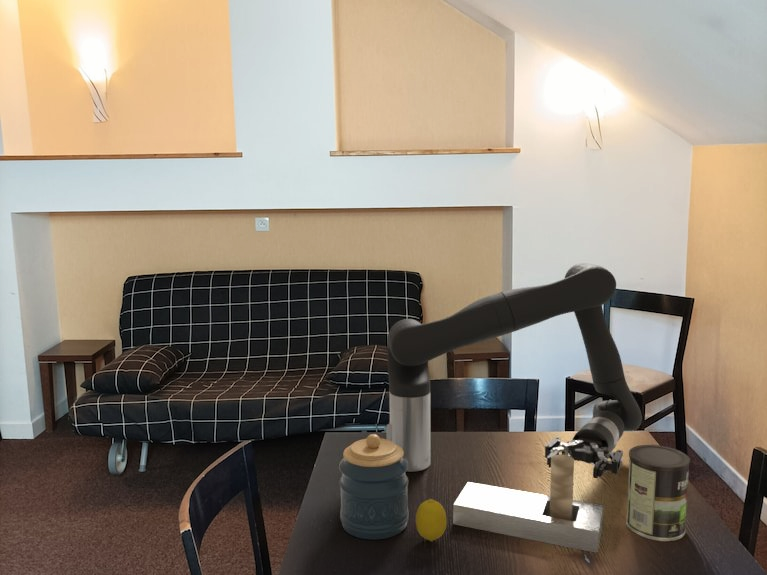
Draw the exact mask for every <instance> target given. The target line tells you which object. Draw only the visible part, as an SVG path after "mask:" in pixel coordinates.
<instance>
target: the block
mask: <svg viewBox="0 0 767 575" xmlns="http://www.w3.org/2000/svg"><path fill="white" fill-rule="evenodd" d="M604 507H605V506H604V504H600V503H593V502H587V501H581V500H574V499H573V506H572V521H569V520H564V519H558V518H553V517H549V516H550V495H547V494H540V493H534V492H529V491H525V490H524V491H522V490H517V489H511V488H507V487H501V486H500V487H499V486H495V485H489V484H483V483H476V482H472V481H471V482H470V481H467V483H466V484H465V486H464V487H463V489H462V490H461V491H460V494H459V495H458V496H457V498H456V499H455V501H454V503H453V507H452V508H453V513H452V518H453V519H452V524H453V525H454V526H455V525H456V526H460V527H464V528H465V527H466V528H470V529H475V530H481V531H485V532H490V533H495V534H501V535H505V536H510V537H515V538H521V539H526V540H530V541H536V542H540V543H545V544H550V545H555V546H560V547H563V548H564V547H566V548H570V549H575V550H581V551H584V552H585V551H586V552H590V553H595V554H598V552H599V548H600V543H601V536H602V531H603V527H604V524H603V523H604Z"/></svg>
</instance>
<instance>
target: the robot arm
mask: <svg viewBox="0 0 767 575" xmlns="http://www.w3.org/2000/svg"><path fill="white" fill-rule="evenodd" d="M616 280H617V279H616V278H615V276H614V275H613V273H611V272H610V271H609V270H608V269H606V268H605V267H603V266H600V265H596V264H591V263H584V262H583V263H576V264H575V265H573V266H571V267H570V268H569V269H568V270H567V272H566V273H565V276H564V278H562V279H560V280H557V281H555V282H551V283H547V284H542V285H533V286H532V285H531V286H525V287H519V288H518V287H517V288H512V289H506V290H503V291H500V292H496V293H494V294H491V295H487V296H485V297H482V298H479V299H478V300H475V301H473V302H472V303H470V304H469V305H467V306H465V307H464V308H461V309H459V311H456V312H455V313H454V314H452V315H450V316H447V317H445V318H442V319H438V320H434V321H431V322H426V323H421V322H419V321H418V320H415V319H413V318H404V319H400V320H398V321H397V322H395V323H394V324H393V325H392V326H391V327H390V330H389V331H388V334H387V374H388V388H389V390H388V392H389V394H388V395H389V423H388V424H386V439H387V440H390V441H392V442H393V443H395V444H396V445H398V446H400V447H401V448H402V449H403V451H404V455H403V457H404V458H405V459H406V460H407V462H408V469H407V471H406V472H409V473H410V472H411V473H412V472H420V471H423V470H426V469H428V468H429V467H431V456H432V454H431V378H430V377H431V376H430V371H429V361H432V360H434V359H435V358H438V357H440V356H443V355H445V354H447V353H450V352H452V351H455V350H457V349H461V348H463V347H468V346H471V345H474V344H478V343H481V342H485V341H489V340H492V339H494V338H495V339H496V338H499V337H502V336H505V335H507V334H511V333H515V332H517V331H519V330H523V329H525V328H528V327H531V326H534V325H536V324H539V323H542V322H545V321H547V320H549V319H553V318H555V317H558V316H561V315H565V314H569V313H574V316H575V318H576V321H577V324H578V327H579V330H580V333H581V337H582V340H583V344H584V347H585V352H586V357H587V361H588V365H589V370H590V374H591V379H592V384H593V387H594V389H595V391H596V392H597V393H599V394H602V395H605V396H610V397H613V398H615V399H613V400H607V399H606V400H600V401H597V403H595V404H594V405H593V409H592V418H591V419H589V420H587V421H586V423H584V425H583V426H581V427H580V428H579V430H578V431H577V432H576V433H575V434H574V436H573V438H572V439H571V440H568V441H567V442H564V441H561V437H558V436H556V437H553V438H552V439H551V440H550V441H549V442H548V443H546V444H545V445H544V458H546V465H548V468H549V469H551V457H552V456H554V455H559V454H560V453H561V455H567V456H570V457H572V458H573V459H574V462H583V463H586V464H589V465H592V466H593V470H592V477H593V479H597V480H598V478H602V477H603V476H604V475H605V473H607V472H608V471H609V472H610V473H612V474H614V475H615V474H618V473H619V472H620V469H621V467H622V465H623V457H624V456H623V455H624V451H623V450H622V449H617V450H616V451H614V450H615V448H616V447H617V444H618V442H619V441H620V440H621V438H622V436H623V435H624V432H632V431H633V432H634V431H637V430H638V429H639V428H640V426H641V425H642V421H643V420H642V419H643V416H642V412H641V409H640V408H641V407H640V406H639V404H638V402H637V401H636V399H635V397H634V396H633V393H632V392H631V389H630V387H629V385H628V383H627V381H626V377H625V372H624V368H623V362H622V359H621V355H620V352H619V350H618V347H617V344H616V342H615V340H614V338H613V336H612V333H611V332H610V329H609V327H608V324H607V322H606V318H605V314H604V310H603V309H604V308H603V305H605V304H606V303H607V302H609V301H610V300H611V299H612V298H613V296H614V294H615V293H616V289H617V281H616ZM608 459H610V460H608Z"/></svg>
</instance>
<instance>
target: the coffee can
mask: <svg viewBox="0 0 767 575" xmlns="http://www.w3.org/2000/svg"><path fill="white" fill-rule="evenodd" d="M628 456H629V462H628V463H629V464H628V482H627V483H628V484H627V485H628V487H627V507H626V519H625V521H626V522H625V524H626V526H627V528H628V529H629V530H630V531H631V532H632V533H634V534H636V535H638V536H640V537H642V538H645V539H648V540H653V541H656V542H675V541H679V540H681V539H682V538H684V536H685V535H686V520H687V517H686V516H687V504H688V503H687V502H688V490H689V489H688V487H689V486H688V484H689V471H690V465H691V458H690V457H689V456H688V455H687V454H686V453H684V452H683V451H682V450H678V449H677V448H673V447H669V446H665V445H658V444H642V445H640V444H639V445H635V446H633V447H631V448H630V449H629V451H628Z"/></svg>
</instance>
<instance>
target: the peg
mask: <svg viewBox="0 0 767 575" xmlns="http://www.w3.org/2000/svg"><path fill="white" fill-rule="evenodd" d="M574 470H575V461H574V459H573V458H572V457H570V455H568V456H567V455H562V453H559V455H554V456H552V457H551V468H550V484H549V485H550V488H549V489H550V490H549V492H550V493H549V496H550V516H549V517H553V518H558V519H564V520H569V521H572V506H573V500H574V476H575V474H574Z"/></svg>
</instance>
